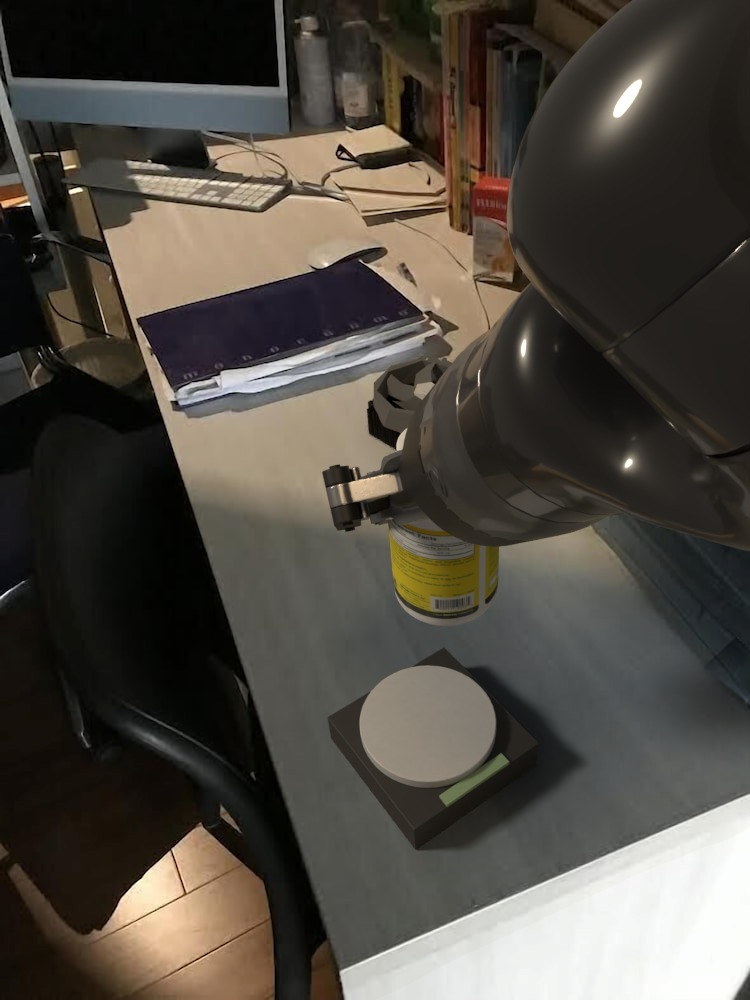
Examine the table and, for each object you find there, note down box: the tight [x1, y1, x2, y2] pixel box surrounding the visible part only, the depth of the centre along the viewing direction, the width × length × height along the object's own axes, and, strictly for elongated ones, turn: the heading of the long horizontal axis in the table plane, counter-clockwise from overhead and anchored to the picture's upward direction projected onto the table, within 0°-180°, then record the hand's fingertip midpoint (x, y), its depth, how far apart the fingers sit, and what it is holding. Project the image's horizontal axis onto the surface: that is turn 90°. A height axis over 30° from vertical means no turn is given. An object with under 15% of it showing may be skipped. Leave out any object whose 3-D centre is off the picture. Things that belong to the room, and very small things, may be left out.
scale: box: [326, 647, 540, 851], centre depth 56 cm, size 10×10×3 cm
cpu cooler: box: [366, 355, 453, 451], centre depth 83 cm, size 10×6×10 cm
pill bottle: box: [387, 428, 500, 627], centre depth 46 cm, size 6×6×11 cm
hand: (433, 492), depth 47 cm, fingers closed on pill bottle, 6 cm apart
